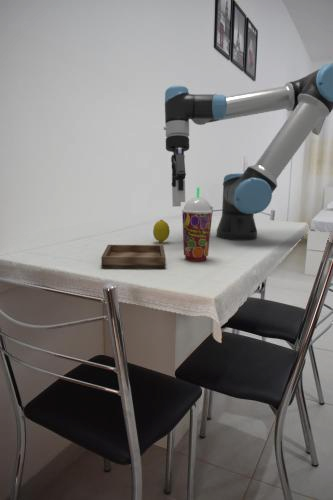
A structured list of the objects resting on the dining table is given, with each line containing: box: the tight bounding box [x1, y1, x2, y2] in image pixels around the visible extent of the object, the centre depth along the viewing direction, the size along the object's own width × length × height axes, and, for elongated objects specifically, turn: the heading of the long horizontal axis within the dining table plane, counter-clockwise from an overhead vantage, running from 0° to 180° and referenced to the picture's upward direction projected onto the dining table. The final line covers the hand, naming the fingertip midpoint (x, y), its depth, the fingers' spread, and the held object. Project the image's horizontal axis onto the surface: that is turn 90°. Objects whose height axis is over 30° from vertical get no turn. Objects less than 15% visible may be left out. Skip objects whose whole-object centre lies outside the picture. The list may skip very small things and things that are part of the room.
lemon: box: [152, 219, 171, 244], centre depth 132 cm, size 6×6×8 cm
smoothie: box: [181, 186, 213, 262], centre depth 107 cm, size 8×8×20 cm
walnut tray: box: [100, 244, 167, 270], centre depth 105 cm, size 16×16×3 cm
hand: (178, 204), depth 124 cm, fingers open, 13 cm apart
